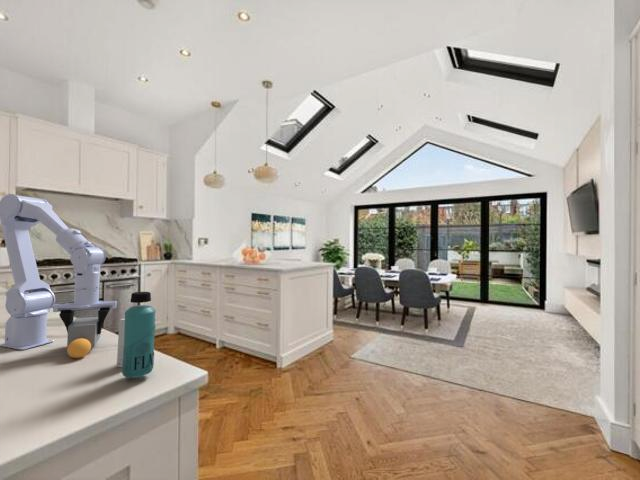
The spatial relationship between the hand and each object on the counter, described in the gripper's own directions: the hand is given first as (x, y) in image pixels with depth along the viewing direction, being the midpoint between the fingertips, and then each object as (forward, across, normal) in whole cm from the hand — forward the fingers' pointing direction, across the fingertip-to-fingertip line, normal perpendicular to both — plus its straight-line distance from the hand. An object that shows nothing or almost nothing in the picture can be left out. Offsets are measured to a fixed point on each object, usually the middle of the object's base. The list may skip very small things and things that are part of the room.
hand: (85, 334), depth 87 cm
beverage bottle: (+4, +14, -28) cm, 32 cm away
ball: (+1, 0, -8) cm, 8 cm away
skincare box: (+4, +13, -18) cm, 23 cm away
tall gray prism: (+2, 0, 0) cm, 2 cm away
